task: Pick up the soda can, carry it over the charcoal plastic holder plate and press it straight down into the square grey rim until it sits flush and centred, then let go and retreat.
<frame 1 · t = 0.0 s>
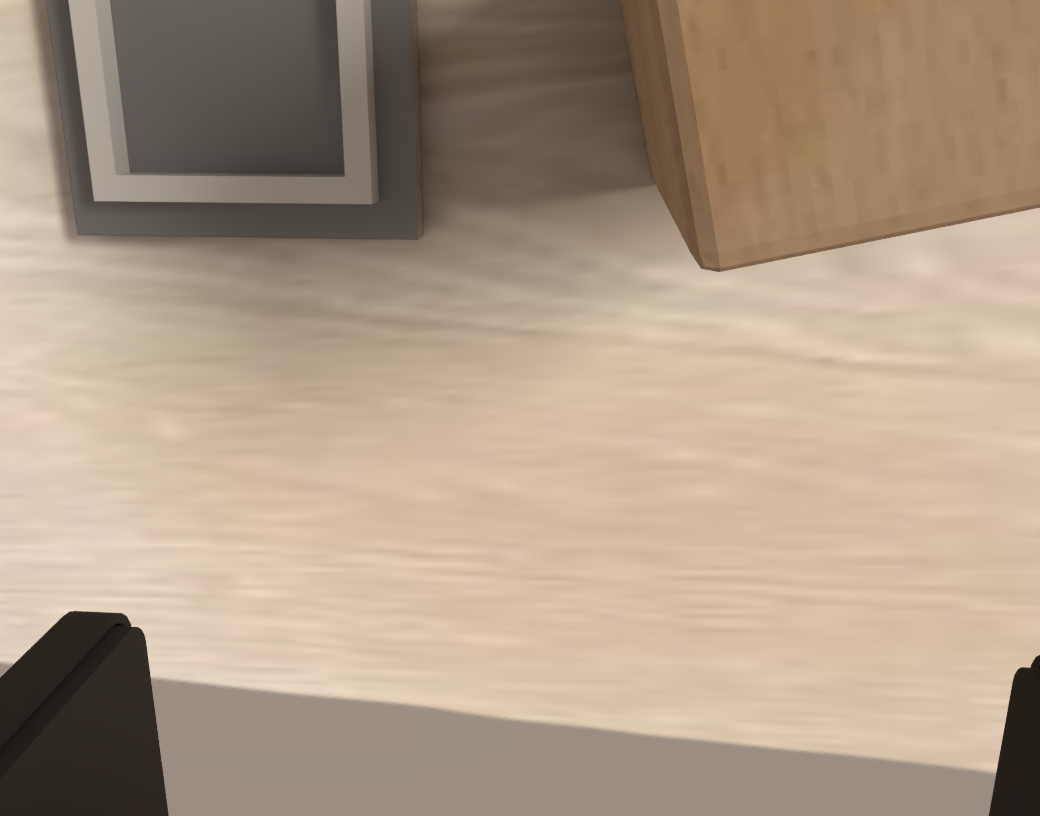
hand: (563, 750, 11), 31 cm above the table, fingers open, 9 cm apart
wooden block: (761, 24, 37), on the table
holder plate: (241, 53, 39), on the table
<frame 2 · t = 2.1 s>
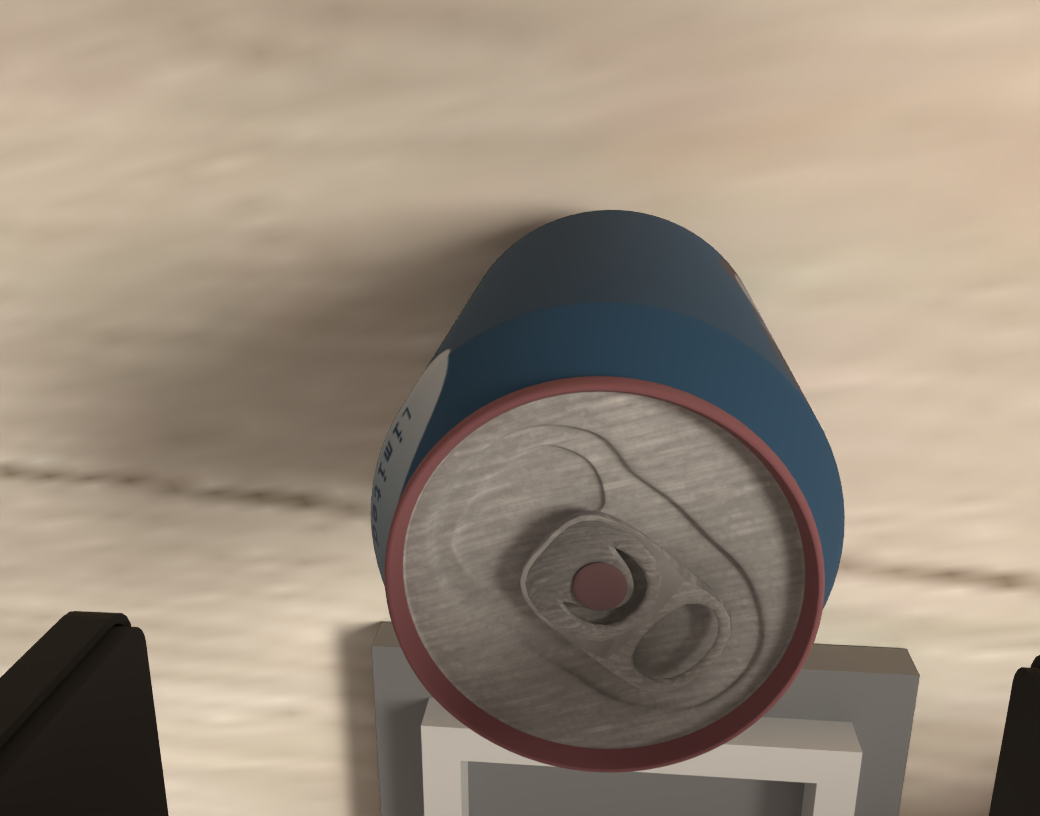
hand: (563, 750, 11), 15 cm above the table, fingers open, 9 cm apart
soda can: (609, 344, 24), on the table
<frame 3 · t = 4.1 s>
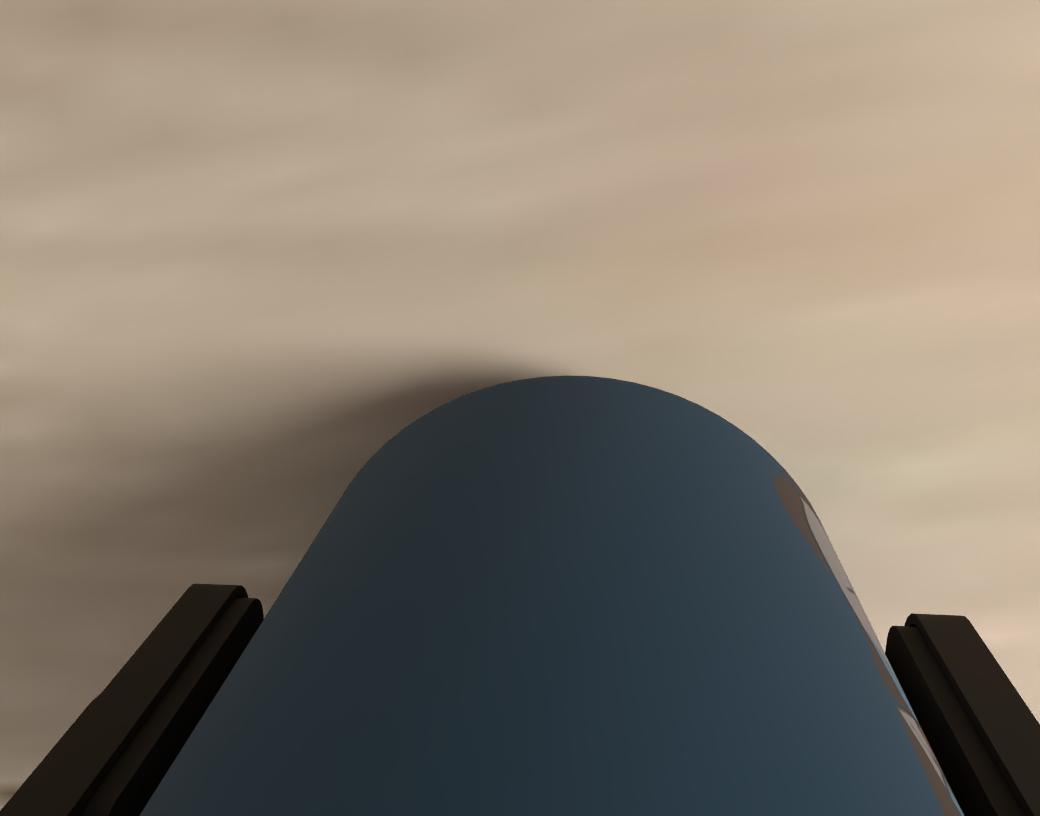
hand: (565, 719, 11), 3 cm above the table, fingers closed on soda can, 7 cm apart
soda can: (575, 574, 14), on the table, touching gripper
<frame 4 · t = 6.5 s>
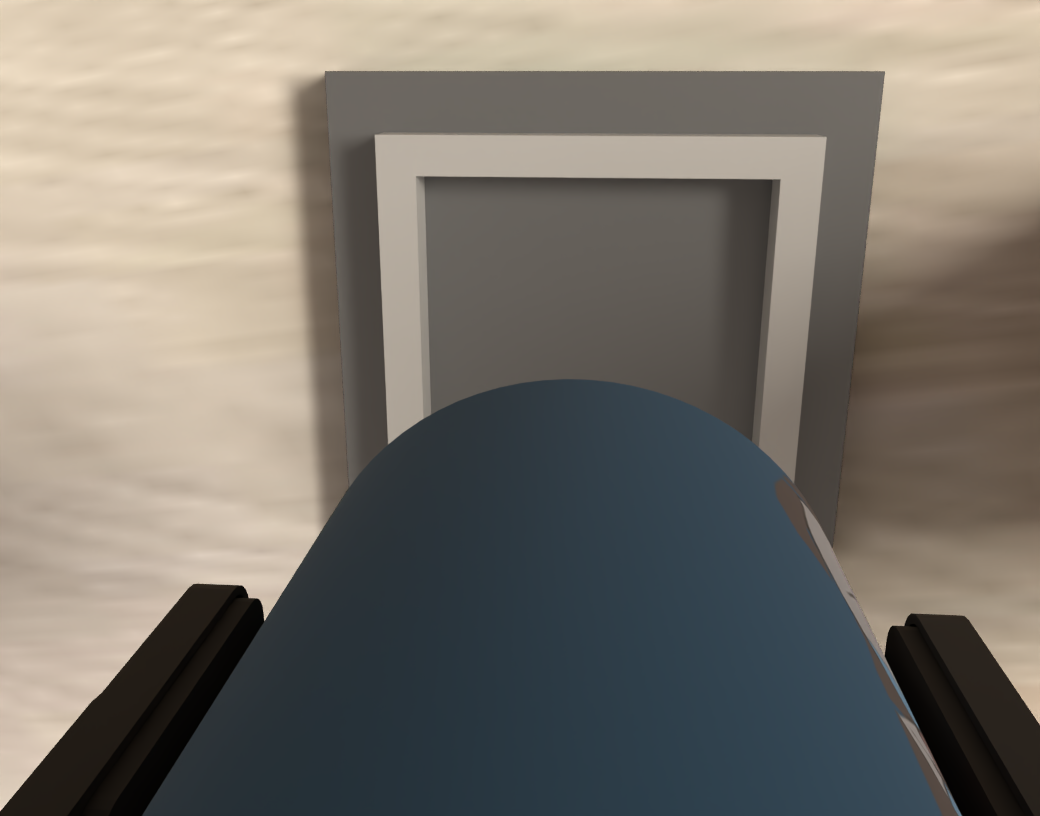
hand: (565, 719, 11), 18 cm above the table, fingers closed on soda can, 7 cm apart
holder plate: (592, 331, 28), on the table
soda can: (575, 577, 14), point 15 cm above the table, touching gripper
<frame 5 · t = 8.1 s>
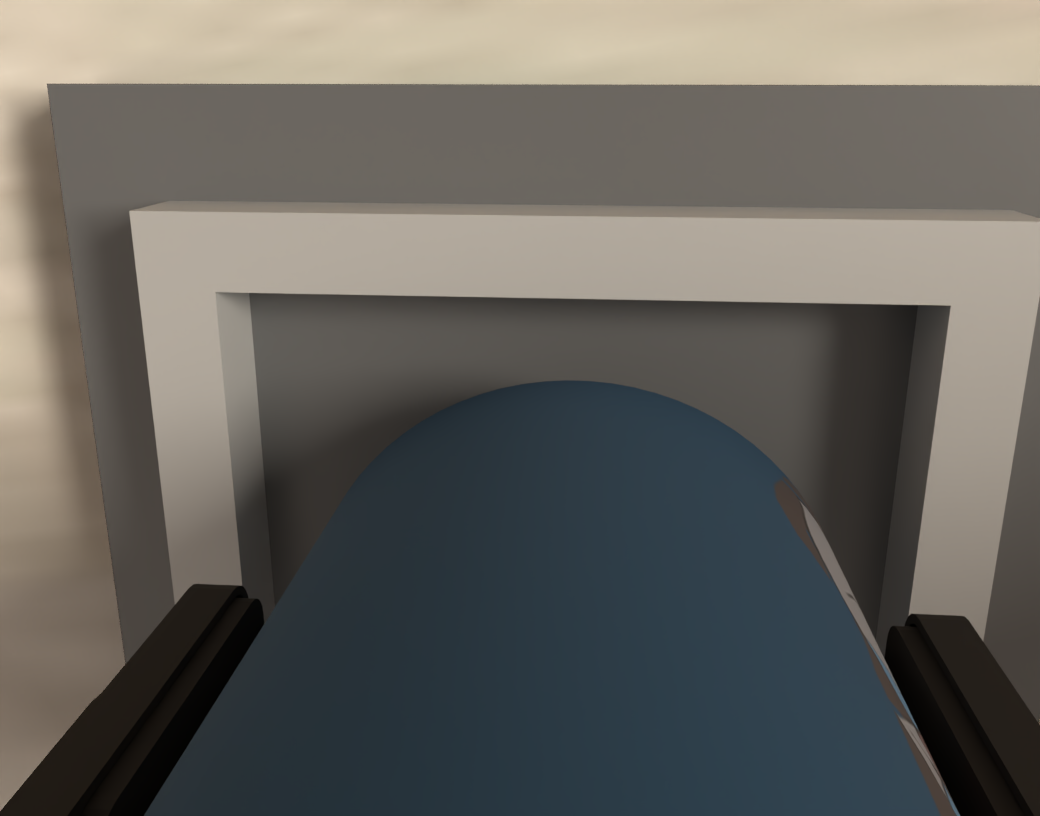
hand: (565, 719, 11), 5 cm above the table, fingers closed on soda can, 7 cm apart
holder plate: (572, 547, 16), on the table
soda can: (575, 578, 14), point 1 cm above the table, touching gripper
when the fingers open (5 cm above the table, at t = 9.2 s): soda can stays where it is, resting on holder plate.
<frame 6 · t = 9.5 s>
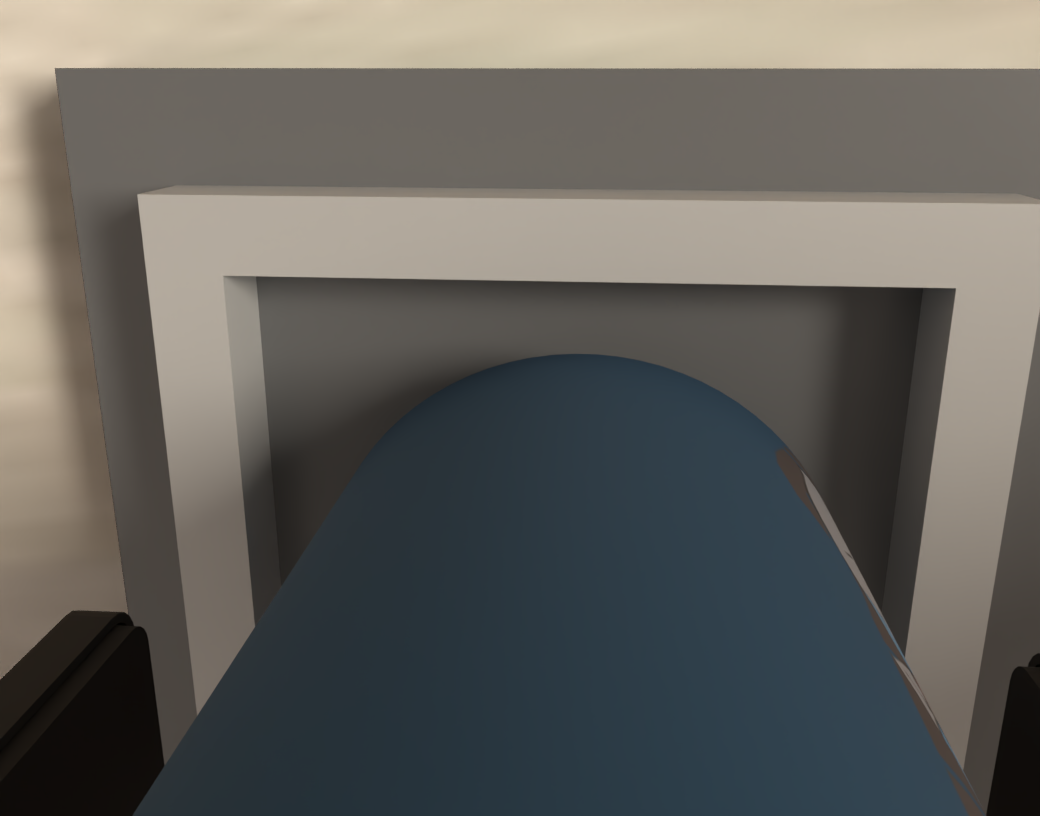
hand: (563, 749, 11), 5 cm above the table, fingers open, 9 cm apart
holder plate: (577, 532, 16), on the table
soda can: (581, 551, 15), point 1 cm above the table, touching holder plate
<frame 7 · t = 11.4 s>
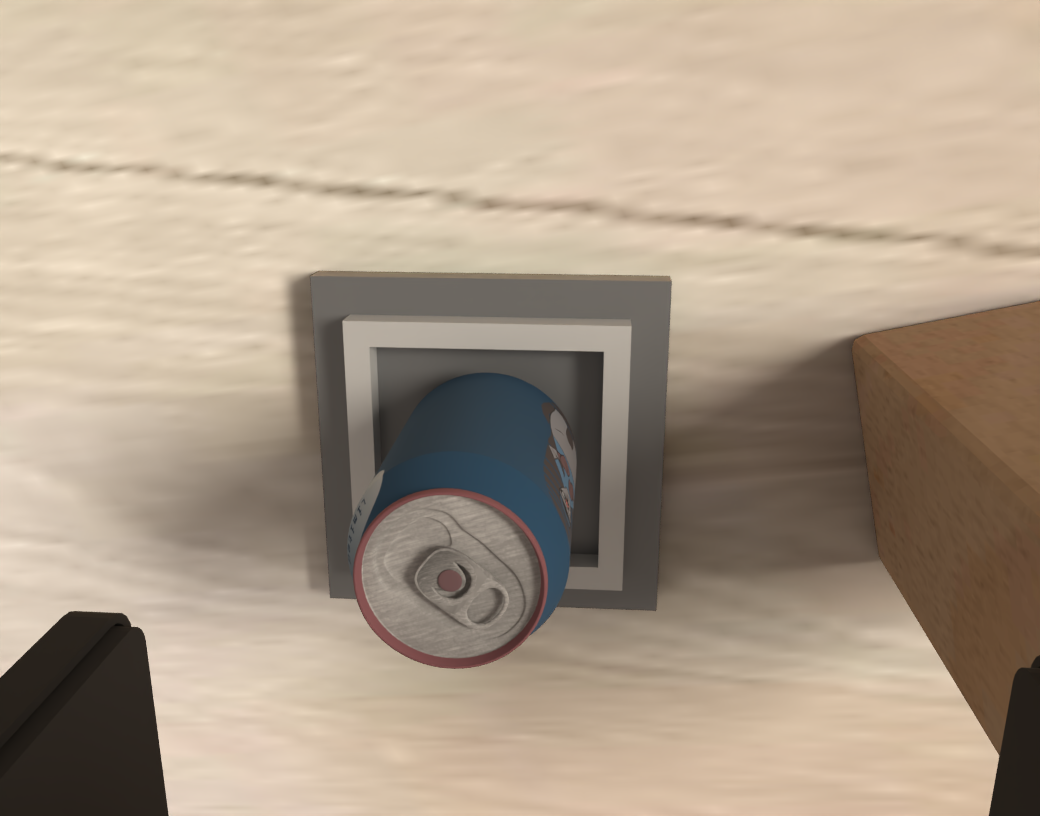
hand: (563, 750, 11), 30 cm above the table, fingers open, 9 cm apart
wooden block: (988, 428, 40), on the table
holder plate: (493, 440, 41), on the table
soda can: (492, 444, 40), point 1 cm above the table, touching holder plate
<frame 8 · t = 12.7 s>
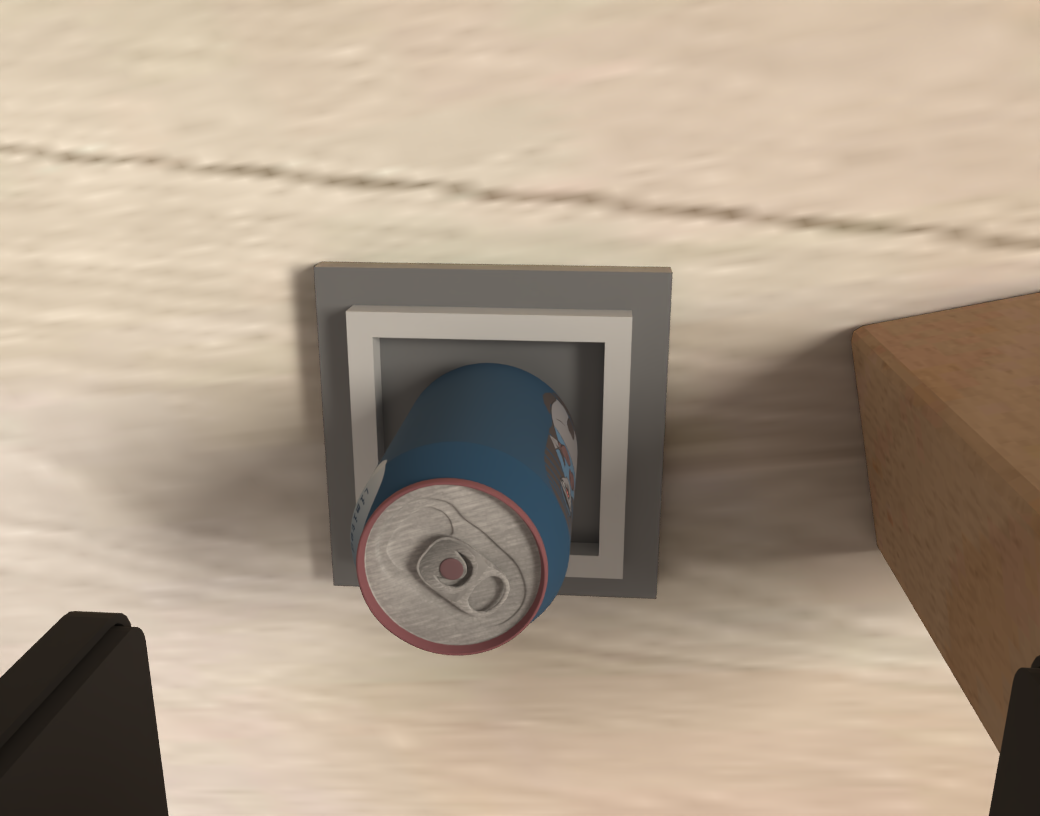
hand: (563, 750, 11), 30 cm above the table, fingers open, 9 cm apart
wooden block: (986, 418, 40), on the table
holder plate: (494, 429, 42), on the table
soda can: (494, 434, 41), point 1 cm above the table, touching holder plate
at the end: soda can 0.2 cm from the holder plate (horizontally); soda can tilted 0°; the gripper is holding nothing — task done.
